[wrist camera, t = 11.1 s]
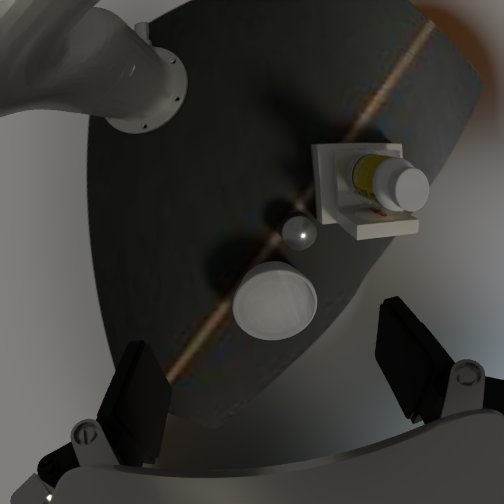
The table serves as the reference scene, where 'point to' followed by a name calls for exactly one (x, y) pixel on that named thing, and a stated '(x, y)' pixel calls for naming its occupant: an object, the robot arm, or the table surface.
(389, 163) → the supplement bottle
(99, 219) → the table surface
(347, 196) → the pan
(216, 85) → the table surface
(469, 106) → the table surface
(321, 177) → the scale housing
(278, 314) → the ramekin
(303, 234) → the shiny gray ball
